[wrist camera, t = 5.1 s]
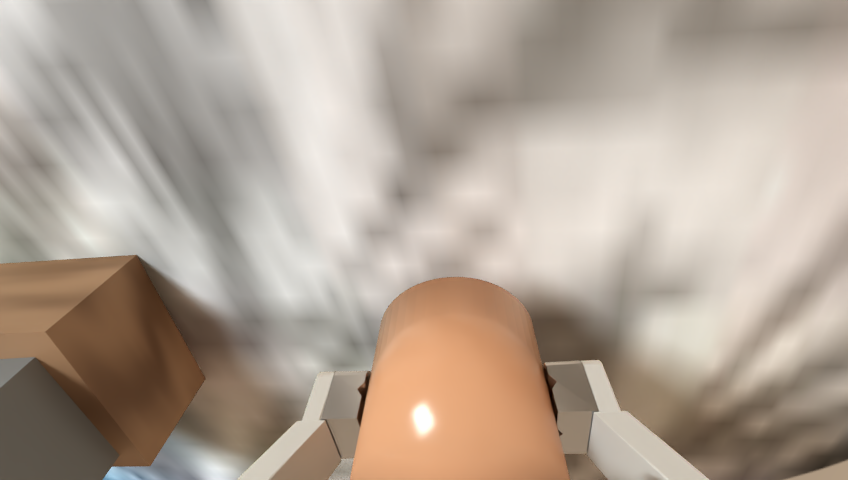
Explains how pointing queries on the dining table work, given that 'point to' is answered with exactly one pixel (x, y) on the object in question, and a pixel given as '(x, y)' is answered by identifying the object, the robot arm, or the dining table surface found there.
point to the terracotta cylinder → (458, 390)
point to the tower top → (46, 429)
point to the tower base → (102, 346)
